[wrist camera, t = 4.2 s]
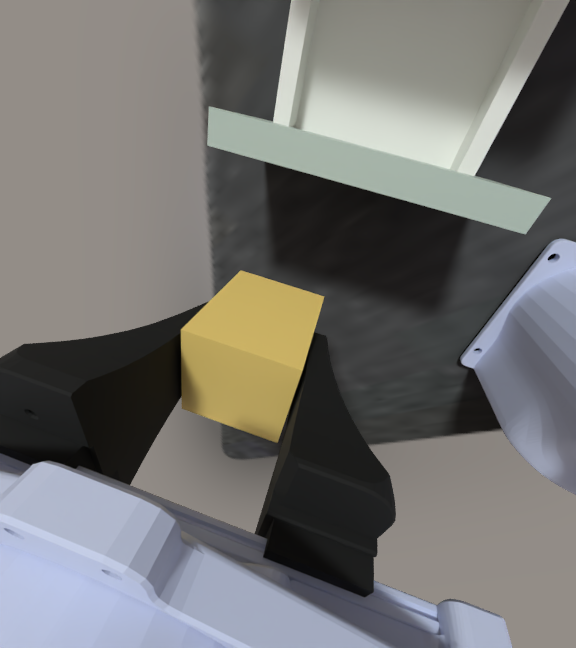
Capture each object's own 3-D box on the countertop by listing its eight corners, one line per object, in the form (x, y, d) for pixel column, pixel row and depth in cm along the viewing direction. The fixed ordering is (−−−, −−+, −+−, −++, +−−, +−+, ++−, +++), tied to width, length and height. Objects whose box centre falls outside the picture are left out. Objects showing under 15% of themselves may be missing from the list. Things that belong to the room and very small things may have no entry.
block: (302, 360, 15) (277, 443, 11) (232, 336, 15) (181, 408, 11) (324, 296, 12) (302, 370, 8) (240, 270, 13) (180, 329, 9)
